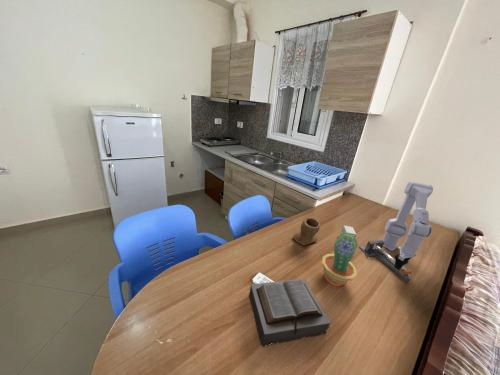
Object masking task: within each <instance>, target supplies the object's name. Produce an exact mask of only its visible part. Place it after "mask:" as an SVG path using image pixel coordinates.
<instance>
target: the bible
mask: <svg viewBox="0 0 500 375" xmlns="http://www.w3.org/2000/svg"><path fill="white" fill-rule="evenodd" d="M249 288H250V289H249V294H248V297H249V301H250V305H251V310H252V313H253V317H254V321H255V324H256V325H255V326H256V329H257V330H256V331H257V334H258V337H259V342H260V346H261V345H262V346H261V347H266V346H265V345H267V346H270V345H269V344H271V343H273V344H277V342H279V344H281V343H284V342H291V341H296V340H301V339H304V338H312V337H313V338H314V337H317V336H320V335H321V334H324V335H325V334H327V330H328V329H329V328H330V325H331V321H330V319H329V317H328V316H327V314H326V312H325V311H324V308H323V307H322V305H321V304H320V302H319V299H317V296H316V295H315V293H314V292H313V290H312V289H311V287H310V284H309V283H308V281H307V280H306V279H305V278H297V279H288V280H278V281H269V282H260V283H251V284H250V287H249ZM271 345H272V344H271Z"/></svg>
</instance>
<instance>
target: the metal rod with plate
mask: <svg viewBox="0 0 500 375" xmlns="http://www.w3.org/2000/svg"><path fill="white" fill-rule="evenodd" d="M375 249H376V250H377V251H379V252H380V253H381V254H382V255H383V256H384V257H386V258H387V259H388V260H389V261H390V262H391V263H393V264H394V265H395V257H393V256H392V255H390V254H389V253H388V252H387V251H385V250H384V249H383V247H382V248H380V246H378V245H377V246H375ZM399 273H400V274H402V275H408V276H409V275H412V274H413V273H414V271H413V270H412V269H411V268H406V267H405V265H404V266H403V267H402V268H401V269H400V272H399Z"/></svg>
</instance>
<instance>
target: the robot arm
mask: <svg viewBox="0 0 500 375" xmlns="http://www.w3.org/2000/svg"><path fill="white" fill-rule="evenodd" d="M433 191H434V187H433V185H432V184H425V183H422V182H417V181H414V180H411V181H410V180H409V182H408V183H407V184H406V186H405V188H404V192H403V193H404V194H405V197H404V199H403V202H402V204H401V206H400V208H399V211H398V213H397V215H396V216H395V217H394V218H389V219H388V221H387V222H386V223H385V226H384V231H385V234H384V236H383V237H382V239H381V240H382V241H383V242H385V243H384V245H383V247H384V248H385V249H387V250H389V251H390V252H393V251H395V250H396V249H398V250H399V254H398V253H396V254H395V255H394V259H395V266H394V267H395V268H396V269H398V270H400V269H401V268H402V267H403V266H404V267H405V265H407V264H408V263H410V260H411V259H412V258H414V257H416V256H417V254H416V253H417V252H418V250H419V249H420V247H421V245H422V244H423V241H424V240H425V238H428V237H429V236H430V235H431V233H432V230H433V229H432V225H431V223H430V222H429V211H428V210H427V202H428V198H429V197H430V196H431V195H432V194H433ZM414 204H415V209H414V210H413V207H414ZM412 210H413V212H412V223H410V226H408V224H407V220H408V218H409V215H410V214H411V211H412ZM408 229H409V230H408ZM406 235H407V236H406ZM405 236H406V238H405V241H404V242H403V244H402V246H398V243H399V241H400V239H401V238H402V237H405ZM383 247H382V248H383Z"/></svg>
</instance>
